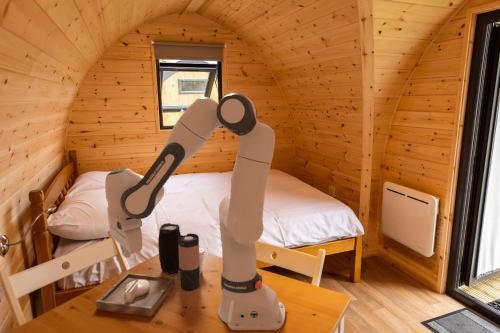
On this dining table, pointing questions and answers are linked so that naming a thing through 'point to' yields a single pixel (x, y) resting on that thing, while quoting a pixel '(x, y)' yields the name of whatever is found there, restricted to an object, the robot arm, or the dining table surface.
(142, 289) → the beige rounded piece
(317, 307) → the dining table surface
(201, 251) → the smoothie
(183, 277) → the travel mug
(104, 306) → the panel
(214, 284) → the dining table surface
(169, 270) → the portable speaker
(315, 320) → the dining table surface
